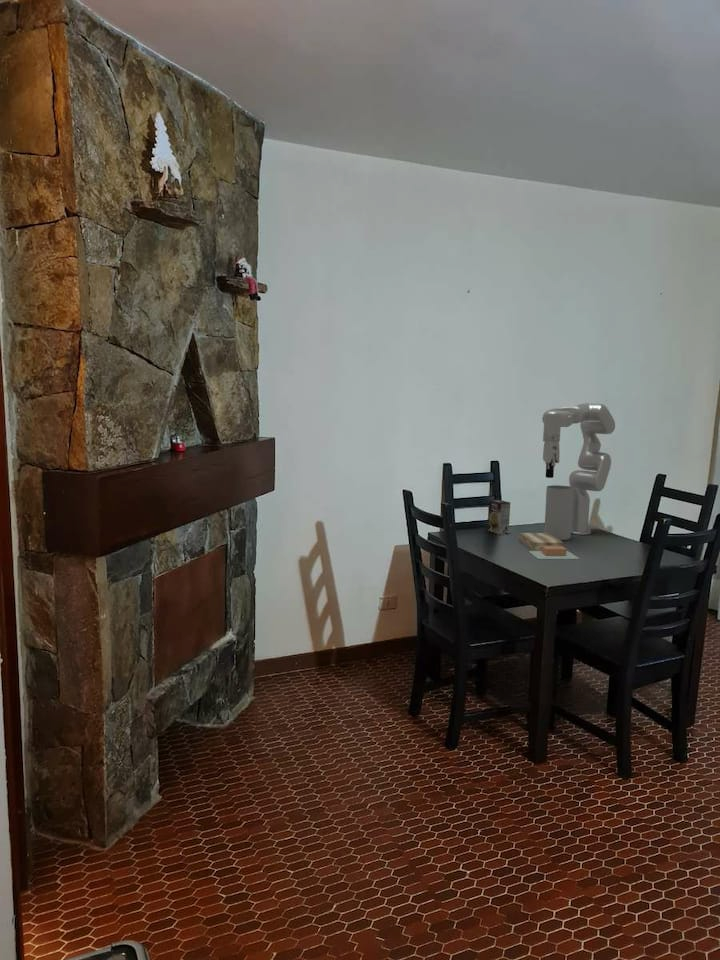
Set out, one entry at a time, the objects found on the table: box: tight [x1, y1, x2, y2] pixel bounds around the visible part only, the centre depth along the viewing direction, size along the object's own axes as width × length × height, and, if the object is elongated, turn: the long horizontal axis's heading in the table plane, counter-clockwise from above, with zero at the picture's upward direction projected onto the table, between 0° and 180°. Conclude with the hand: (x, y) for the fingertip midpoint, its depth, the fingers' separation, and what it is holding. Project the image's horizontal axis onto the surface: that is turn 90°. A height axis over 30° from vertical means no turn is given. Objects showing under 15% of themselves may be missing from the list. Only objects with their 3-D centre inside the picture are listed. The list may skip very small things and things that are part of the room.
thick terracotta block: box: [542, 545, 568, 556], centre depth 307 cm, size 9×6×3 cm, turn 94°
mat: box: [528, 550, 580, 560], centre depth 306 cm, size 18×14×1 cm
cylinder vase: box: [543, 484, 573, 541], centre depth 339 cm, size 12×12×25 cm
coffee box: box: [487, 499, 511, 535], centre depth 350 cm, size 9×6×16 cm
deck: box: [519, 532, 564, 551], centre depth 323 cm, size 14×20×4 cm
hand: (549, 477), depth 326 cm, fingers closed
